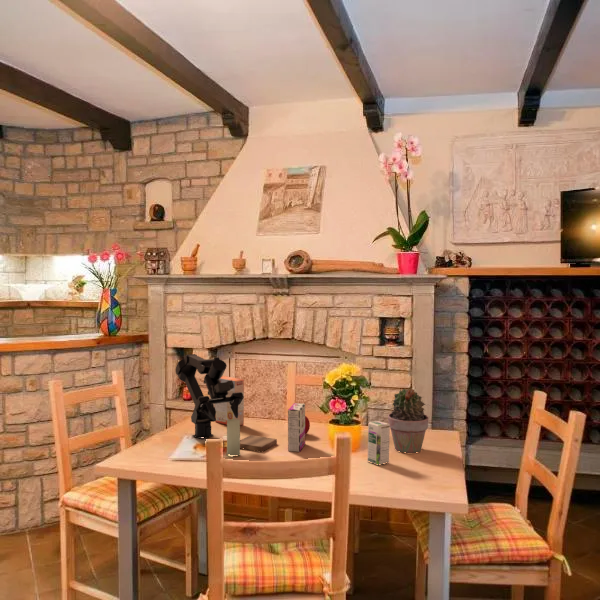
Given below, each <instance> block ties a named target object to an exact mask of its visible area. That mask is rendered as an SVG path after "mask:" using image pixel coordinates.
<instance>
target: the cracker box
mask: <svg viewBox="0 0 600 600" xmlns="http://www.w3.org/2000/svg"><path fill="white" fill-rule="evenodd" d="M230 380H232V381H233V384H234V388H233V389H231V390H230V391H228V394H227V395H226V397H231V395H232V393H236V392H242V393H243V396H244V398H243V400H242V401H241V403H240V404H239V405H238V418H236V417H235V416H234V413H233V411H232V409H231V405H230V403H229V402H226V403H218V404H214V407H215V410H216V415H215V417H216V421H215V423H218V424H223V425H226V426H227V420H230V419H238V420H240V427H241V426H244V425H245V380H244V379H242V378H238V377H231V376H226V375H222V377H221V378H220V382H221V383H224V382H227V381H230Z"/></svg>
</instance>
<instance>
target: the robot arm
mask: <svg viewBox="0 0 600 600" xmlns="http://www.w3.org/2000/svg"><path fill="white" fill-rule="evenodd" d="M227 367H228V366H227V363H226V361H224V360H222V359H220V357H219V356H218V357H214V358H209V359H208V358H207V359H205V358H203V357H201V356H199V355H197V354H195V353H194V354H193V353H191V354H186V355H184V356H183V358H182V359H181V360H179V361H178V362H177V364H176V366H175V374H176V375H177V377H178V379H179V380H181V381H182V382H184V383H185V385H186V387H187V390H188V393H189V395H190V396H191V400H192V401H193V403H194V409H193V412H192V413H191V416H190V421H191V423H193V424H194V434H192V436H194V437H193V438H196V437H204V438H205V439H207V438H206V437H208V438H210V437H214V436H215V435H214V434H212V422H213V423H214V422H215V421H216V417H215V415H216V410H215V404H218V403H226V402H229V403H230V405H231V409H232V411H233V413H234V416H235V417H236V418H238V405H239V404H240V403H241V401H242V400H243V398H244V399H245V395H244V396H243V393H242V392H236V393H232V395H231V397H226V395H227V394H228V391H230V390H231V389H233V388H234V384H233V381H232V380H230V381H227V382H224V383H221V382H220V378H221V377H222V376H224V374H225V371H226V370H227ZM197 372H198V373H199V374H200V375H204V377H203V384H205V385H206V389H207V395H204V393H203V391H202V389H201V387H200V385H199V381H198V380H197V378H196V375H197V374H196V373H197ZM215 423H216V422H215ZM192 436H191V437H192Z"/></svg>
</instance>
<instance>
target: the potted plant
mask: <svg viewBox="0 0 600 600" xmlns="http://www.w3.org/2000/svg"><path fill="white" fill-rule="evenodd" d="M398 391H399V392H398V393H394V395H393V396H394V399H393V400H392V401H391V404H389V405H388V407H390V406H393V407H391V408H390V410H392V411H391V412H390V413H389V414H388V415H387V422H388V423H387V424H390V433H391V437H392V441H393V445H394V450H395V449H396V450H397V451H400V452H406V453H416V452H419V451H420V452H421V451H422V447H423V443H424V440H425V435H426V432H427V431H426V430H428V428H429V418H430V417H429V416H428V415H427V414H425V408H424V406H427V407H428V406H431V405H430V404H426V403H425V402H423V400H422V398H423V396H421V395H419V394H418V393H417V392H416V391H415V389H412V388H409V389H406V388H403V389H402V390H398ZM431 407H432V406H431ZM396 450H395V451H396ZM397 451H396V452H397ZM400 452H399V453H400ZM420 452H419V453H420ZM416 454H417V453H416Z"/></svg>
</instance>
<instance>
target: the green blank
mask: <svg viewBox="0 0 600 600" xmlns="http://www.w3.org/2000/svg"><path fill="white" fill-rule="evenodd" d="M240 440H241V426H240V420H238V419H230V420H227V425H226V455H227V454H230V455H239V454H240V455H241V449H240Z"/></svg>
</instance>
